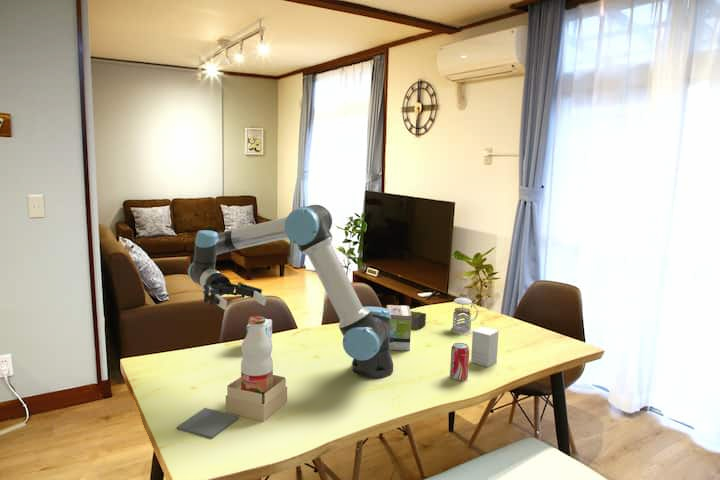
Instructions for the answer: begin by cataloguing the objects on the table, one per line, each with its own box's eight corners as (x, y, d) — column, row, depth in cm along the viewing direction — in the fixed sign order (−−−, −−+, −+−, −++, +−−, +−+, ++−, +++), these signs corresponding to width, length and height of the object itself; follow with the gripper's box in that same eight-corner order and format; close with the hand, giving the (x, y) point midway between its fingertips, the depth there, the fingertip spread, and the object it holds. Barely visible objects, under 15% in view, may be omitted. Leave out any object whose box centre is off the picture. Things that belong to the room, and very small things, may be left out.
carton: (287, 401, 157) (287, 377, 155) (263, 421, 144) (263, 395, 143) (251, 393, 161) (251, 369, 160) (225, 411, 149) (225, 386, 148)
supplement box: (497, 362, 192) (499, 330, 190) (487, 367, 187) (489, 335, 185) (480, 356, 197) (482, 325, 195) (470, 362, 192) (472, 330, 190)
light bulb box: (262, 354, 194) (262, 327, 193) (246, 352, 196) (245, 325, 194) (272, 344, 205) (272, 318, 203) (257, 342, 206) (256, 317, 204)
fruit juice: (279, 406, 154) (279, 318, 149) (255, 417, 146) (254, 325, 142) (259, 396, 159) (258, 311, 155) (234, 407, 152) (233, 318, 148)
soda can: (466, 382, 174) (468, 349, 172) (448, 379, 176) (450, 346, 174) (469, 375, 180) (471, 343, 178) (451, 372, 182) (453, 340, 180)
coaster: (238, 418, 146) (238, 416, 146) (212, 438, 135) (212, 436, 135) (205, 409, 150) (205, 407, 150) (176, 428, 139) (176, 426, 139)
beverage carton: (389, 318, 243) (389, 305, 242) (426, 326, 233) (427, 312, 232) (381, 323, 236) (382, 309, 235) (419, 330, 227) (420, 316, 226)
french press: (449, 326, 233) (452, 273, 229) (475, 328, 232) (478, 275, 228) (450, 333, 223) (453, 278, 220) (477, 335, 222) (480, 280, 218)
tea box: (410, 351, 201) (412, 315, 199) (385, 350, 202) (386, 314, 199) (407, 338, 216) (409, 304, 214) (384, 337, 217) (385, 304, 214)
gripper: (246, 290, 181) (278, 310, 166) (178, 296, 165) (206, 319, 149) (249, 270, 180) (281, 288, 165) (180, 274, 163) (209, 295, 148)
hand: (245, 303), depth 157 cm, fingers open, 13 cm apart
